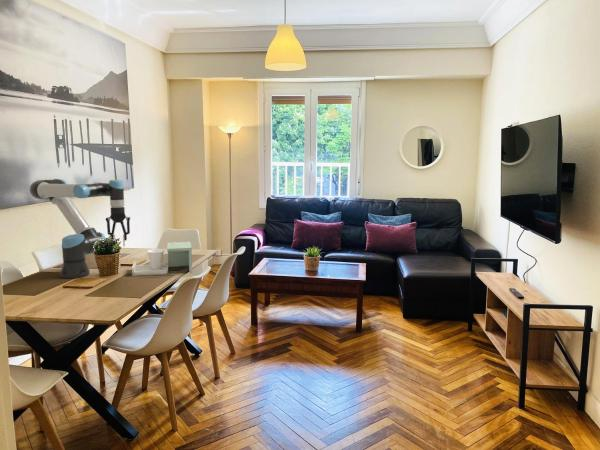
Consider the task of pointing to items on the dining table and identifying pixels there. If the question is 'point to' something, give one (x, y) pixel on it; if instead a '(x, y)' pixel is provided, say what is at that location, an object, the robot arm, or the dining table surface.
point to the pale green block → (180, 254)
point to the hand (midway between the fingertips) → (119, 246)
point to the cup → (155, 258)
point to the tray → (148, 269)
